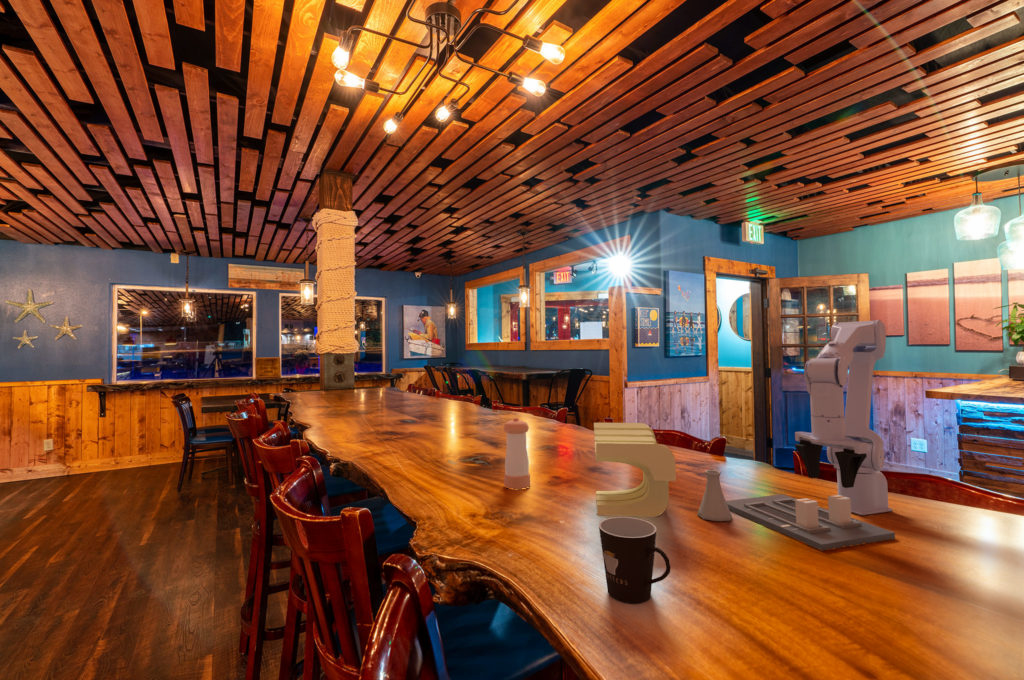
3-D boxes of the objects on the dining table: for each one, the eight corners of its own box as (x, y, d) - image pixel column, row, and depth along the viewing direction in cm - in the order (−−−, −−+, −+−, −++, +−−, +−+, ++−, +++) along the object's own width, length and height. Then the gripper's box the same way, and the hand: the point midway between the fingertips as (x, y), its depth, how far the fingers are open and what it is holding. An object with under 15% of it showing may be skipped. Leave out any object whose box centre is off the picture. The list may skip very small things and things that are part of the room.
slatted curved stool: (677, 531, 94) (674, 444, 95) (598, 528, 97) (596, 443, 97) (655, 489, 124) (653, 422, 124) (595, 487, 126) (593, 422, 127)
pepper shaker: (530, 490, 125) (529, 419, 126) (503, 490, 125) (502, 419, 126) (529, 482, 132) (528, 415, 133) (504, 483, 132) (503, 416, 133)
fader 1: (807, 522, 94) (806, 497, 94) (818, 527, 91) (817, 501, 92) (796, 524, 93) (795, 499, 93) (806, 528, 91) (805, 502, 91)
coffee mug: (594, 580, 74) (592, 518, 75) (645, 577, 75) (644, 515, 75) (616, 622, 63) (614, 547, 63) (677, 618, 63) (675, 544, 64)
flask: (736, 523, 98) (734, 476, 98) (700, 521, 99) (698, 475, 100) (727, 512, 105) (726, 468, 105) (694, 510, 107) (692, 467, 107)
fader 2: (840, 519, 96) (839, 494, 96) (851, 523, 93) (850, 497, 93) (828, 520, 95) (827, 495, 95) (840, 524, 92) (838, 499, 93)
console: (782, 499, 114) (782, 491, 114) (895, 538, 88) (894, 529, 89) (721, 506, 109) (721, 499, 109) (822, 551, 84) (821, 541, 84)
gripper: (782, 412, 101) (785, 475, 101) (845, 421, 87) (848, 494, 87) (808, 411, 103) (811, 472, 103) (874, 419, 89) (877, 490, 89)
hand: (830, 482), depth 95 cm, fingers open, 7 cm apart
